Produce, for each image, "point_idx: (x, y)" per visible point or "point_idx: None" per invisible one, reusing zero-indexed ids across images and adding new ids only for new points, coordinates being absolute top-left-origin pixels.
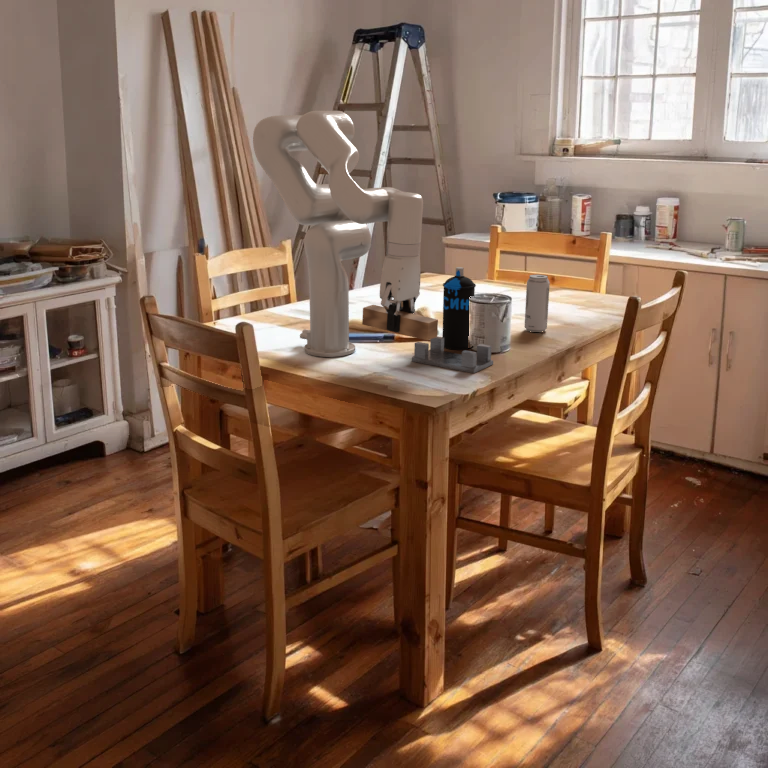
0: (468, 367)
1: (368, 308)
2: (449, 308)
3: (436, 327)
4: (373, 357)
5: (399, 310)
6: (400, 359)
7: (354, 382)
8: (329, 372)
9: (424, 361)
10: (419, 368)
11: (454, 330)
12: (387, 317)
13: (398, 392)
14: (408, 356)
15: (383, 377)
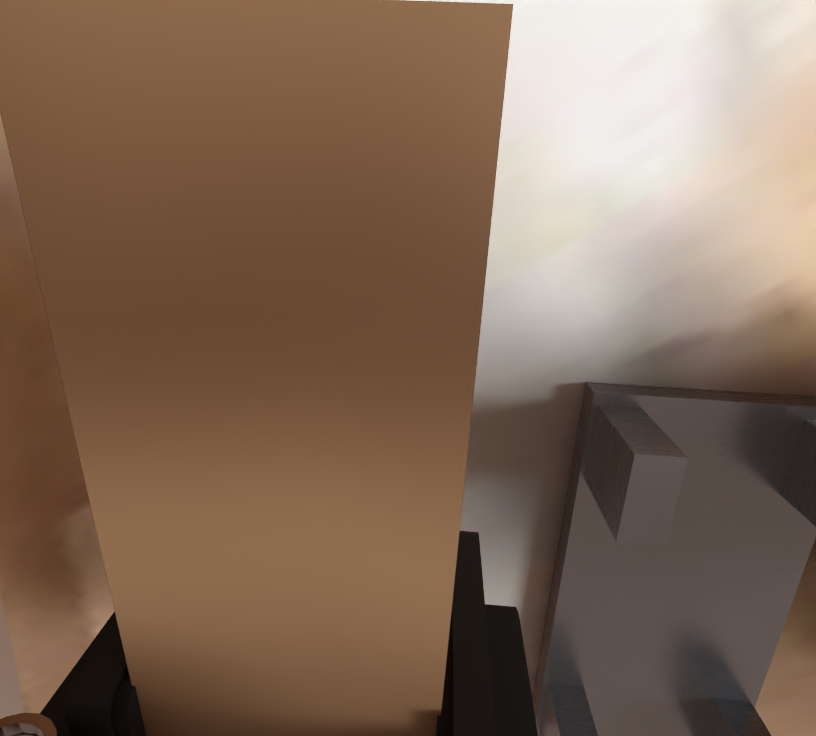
0: (542, 717)
1: (63, 172)
2: None
3: None
4: (544, 92)
5: (452, 711)
6: (591, 297)
7: (12, 323)
8: None
9: (576, 474)
10: (466, 486)
11: None
12: (113, 632)
13: (62, 579)
14: (689, 304)
15: None
